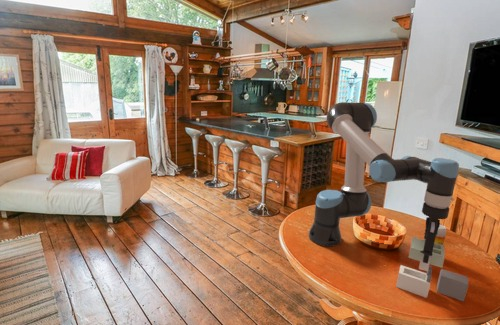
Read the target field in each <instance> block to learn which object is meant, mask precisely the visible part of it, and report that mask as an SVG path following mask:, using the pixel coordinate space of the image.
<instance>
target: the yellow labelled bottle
mask: <svg viewBox="0 0 500 325" xmlns="http://www.w3.org/2000/svg"><path fill="white" fill-rule="evenodd" d="M446 235H447V228H446V226H445V225H442V224H440V226H439V228H438V232H437V235H436V237H435V242H434V243H437V244H441V245H444V242H445V238H446Z"/></svg>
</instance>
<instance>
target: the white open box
mask: <svg viewBox="0 0 500 325" xmlns="http://www.w3.org/2000/svg"><path fill="white" fill-rule="evenodd" d="M432 271H433V266H432V265H429V269H428V272H427V271H426V272H424V271H422V270H421V271H420V270H418V269H414V268H411V267H408V266H405V265H402V264H400V266H399V271H398V275H397V280H396V285H395V287H396V288H398V289H401V290H403V291H406V292H408V293H411V294H413V295H414V294H415V295H417V296H420V297H422V298H425V299H427V298H428V295H429V292H430V288H431V281H432V276H433V273H432Z"/></svg>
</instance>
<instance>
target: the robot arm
mask: <svg viewBox="0 0 500 325" xmlns="http://www.w3.org/2000/svg"><path fill="white" fill-rule="evenodd" d="M377 119H378V114H377V110H376V108H375V107H374V106H373V105H372V104H370V103H367V102H344V101H342V102H341V101H340V102H337V103H335V104H333V105H332V106H331V107H330V108H329V110H328V111H327V114H326V124H327V125H328V127H329V128H330V130H331V131H332V132H333V133H334V134H338V135H339V136H340V137H341V138H342V140H344V141H345V142H346V143H345V144H346V146H345V147H346V148H345V164H344V165H345V169H344V184H343V185H342V186H341V187H340V191H339V190H336V189H324V190H321V191H320V192H319V193H317V195H316V199H315V206H314V207H315V209H314V218H313V223H312V225H311V227H310V229H309V232H308V238H309V240H310V241H312V242H313V243H314V244H316V245H319V246H322V247H335V246H338V245H339V244H341V242H342V234H341V230H340V220H341V219H346V218H351V217H356V218H357V217H361V216H365V215H366V214H368V213H369V212H370V210H371V207H372V198H371V196H370V194H369V193H368V192H367V190H368V189H366V187H365V186H364V185H365V184H364V180H365V165H366V164H367V166H368V167H369V169H368V172H369V175H370V178H371V180H373V181H374V182H376V183H391V182H397V181H400V182H401V181H410V180H411V181H413V180H415V181H419V182H422V183H424V184H426V189H425V193H424V199H423V201H424V202H423V204H422V209H421V212H422V214H423V215H424V216H426V219H425V229H424V236H423V240H425V244H424V249H423V251H420V252H421V253H422V255H421V260H420V261H419V266H418V269H419V270H421V271H423V272H424V271H425V272H426V273H427V272H428V269H429V266H430V265H431V264H430V260H431V256H432V252H433V247H434V242H435V237H436V235H437V232H438V228H439V226H440V225H441V223H440V221H441V220H446V219H447V218H449V213H450V206H451V203H452V201H454V200H455V198H454V197H453V194H454V189H455V186H456V182H457V179H458V176H459V174H458V173H459V168H460V163H459V162H458V161H456V160H454V159H450V158H443V157H435V158H433V159H432V161H429V160H426V159H422V158H419V157H417V156H410V155H405V156H403V157H401V158H400V159H399V158H398V159H394V158H392V157H391V156H390V155H389V154H388V153H387V152H386V151H385V150H384V149H383V148H382V147H381V146H379V144H377V143H376V142H375V140H374V139H372V138H371V137H370V136H369V134H371V129H372V128H373V127H374V126H375V125H376V123H377ZM365 163H366V164H365Z"/></svg>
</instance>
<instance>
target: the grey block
mask: <svg viewBox="0 0 500 325" xmlns="http://www.w3.org/2000/svg"><path fill="white" fill-rule="evenodd" d="M410 242H411V243H410V247H409V253H408V258H409V259H411V260H415V261H419V262H420V260H421V255H422V253H421V252H420V251H423V249H424V244H425V240H424V239H422V238H418V237H414V236H412V238H411V241H410ZM445 256H446V255H445V244H443V245H441V244H437V243H434V247H433V252H432V256H431V260H430V264H429V265H430V266H435V267H438V268H441V269H443V267H444V266H443V265H444V262H445V258H446V257H445Z"/></svg>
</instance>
